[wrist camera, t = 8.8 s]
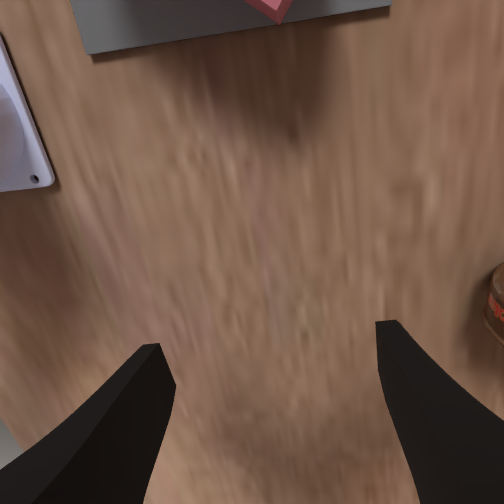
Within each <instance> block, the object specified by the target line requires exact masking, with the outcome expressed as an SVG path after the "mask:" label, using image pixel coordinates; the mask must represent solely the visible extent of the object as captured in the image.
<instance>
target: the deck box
mask: <svg viewBox="0 0 504 504" xmlns="http://www.w3.org/2000/svg"><path fill="white" fill-rule="evenodd" d="M244 1H245V2H247V3H248V4H250V5H251V6H252V7H254V8H255V9H257V10H258V11H260V12H261V13H263V14H264V15H266V16H267V17H269V18H270V19H271V20H273V21H274V22H276V23H277V24H279V25H280V24H281V22H282V20H283V18H284V16H285V15H286V13H287V11H288V9H289V7H290V5H291V3H292V1H293V0H244Z"/></svg>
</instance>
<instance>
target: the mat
mask: <svg viewBox="0 0 504 504" xmlns="http://www.w3.org/2000/svg"><path fill="white" fill-rule="evenodd" d="M70 2H71V5H72V9H73V12H74V15H75V19H76V22H77V25H78V29H79V32H80V35H81V39H82V42H83V45H84V49H85V52H86V55H92V54H98V53H104V52H110V51H116V50H123V49H129V48H135V47H141V46H147V45H153V44H159V43H165V42H171V41H178V40H184V39H190V38H196V37H202V36H208V35H214V34H220V33H227V32H233V31H239V30H245V29H251V28H257V27H263V26H269V25H275V24H277V23H276V22H274V21H273V20H271V19H270V18H269V17H267V16H266V15H264V14H263V13H261V12H260V11H258V10H257V9H255V8H254V7H252V6H251V5H250V4H248V3H247V2H245V1H244V0H70ZM390 5H392V0H293V1H292V3H291V5H290V7H289V9H288V11H287V13H286V15H285V16H284V18H283V20H282V22H281V24H282V23H288V22H294V21H300V20H306V19H312V18H318V17H324V16H331V15H337V14H343V13H349V12H355V11H361V10H367V9H373V8H379V7H386V6H390Z"/></svg>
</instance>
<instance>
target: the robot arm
mask: <svg viewBox="0 0 504 504" xmlns="http://www.w3.org/2000/svg"><path fill="white" fill-rule="evenodd" d="M34 175H36V176H37V177H38V178H39V182H38V181H37V180H36V179H35V178H34ZM54 181H55V176H54V173H53V171H52V168H51V165H50V163H49V160H48V158H47V155H46V152H45V150H44V147H43V145H42V142H41V139H40V137H39V134H38V132H37V129H36V126H35V124H34V121H33V119H32V116H31V113H30V111H29V108H28V106H27V103H26V100H25V98H24V95H23V93H22V90H21V87H20V85H19V82H18V80H17V77H16V74H15V72H14V69H13V67H12V64H11V61H10V59H9V56H8V54H7V51H6V48H5V46H4V43H3V41H2V38H1V35H0V192H5V191H13V190H22V189H31V188H40V187H47V186H50V185H52V184H53V183H54ZM375 324H376V342H377V360H378V372H379V376H380V380H381V385H382V389H383V393H384V397H385V401H386V404H387V407H388V409H389V412H390V415H391V418H392V421H393V423H394V426H395V429H396V432H397V434H398V437H399V440H400V443H401V446H402V448H403V451H404V454H405V457H406V459H407V462H408V465H409V468H410V470H411V473H412V476H413V480H414V483H415V486H416V489H417V493H418V497H419V500H420V504H504V421H503V420H502V419H501V418H499V417H498V416H497V415H495V414H494V413H493V412H492V411H490V410H489V409H488V408H486V407H485V406H484V405H483V404H481V403H480V402H479V401H478V400H476V399H475V398H474V397H473V396H472V395H471V394H469V393H468V392H467V391H466V390H465V389H464V388H462V387H461V386H460V385H459V384H458V383H457V382H456V381H455V380H453V379H452V378H451V377H450V376H449V375H448V374H447V373H446V372H445V371H444V370H443V369H442V368H441V367H440V366H439V365H438V364H437V363H436V362H435V361H434V360H433V359H432V358H431V357H430V356H429V355H428V354H427V353H426V352H425V351H424V350H423V349H422V348H421V347H420V346H419V345H418V344H417V342H416V341H415V340H414V339H413V338H412V337H411V336H410V335H409V333H408V332H407V331H406V330H405V329H404V328H403V326H402V325H401V324H400V323H399V322H398V321H397V320H388V321H378V322H375ZM175 390H176V384H175V381H174V379H173V376H172V374H171V371H170V369H169V366H168V364H167V361H166V359H165V356H164V353H163V351H162V348H161V346H160V343H155V344H145V345H142V346H141V347H140V348H139V349H138V350H137V351H136V352H135V353H134V354H133V355H132V356H131V357H130V358H129V359H128V360H127V361H126V362H125V363H124V364H123V365H122V366H121V367H120V368H119V369H118V370H117V371H116V372H115V373H114V374H113V375H112V376H111V377H110V378H109V379H108V380H107V381H106V382H105V383H104V384H103V385H102V386H101V387H100V388H99V389H98V390H97V391H96V392H95V393H94V394H93V395H92V396H91V397H90V398H89V399H88V400H86V401H85V402H84V403H83V404H82V405H81V406H80V407H79V408H78V409H77V410H76V411H75V412H74V413H73V414H71V415H70V416H69V417H68V418H67V419H66V420H65V421H63V422H62V423H61V424H60V425H59V426H58V427H56V428H55V429H54V430H53V431H51V432H50V433H49V434H48V435H47V436H45V437H44V438H43V439H42V440H40V441H39V442H38V443H36V444H35V445H34V446H32V447H31V448H30V449H28V450H27V451H26V452H24V453H23V454H21V455H20V456H19V457H17V458H16V459H15V460H13V461H12V462H11V463H9V464H8V465H6V466H5V467H3V468H2V469H1V470H0V504H143V501H144V497H145V493H146V490H147V486H148V483H149V480H150V477H151V474H152V471H153V468H154V465H155V462H156V459H157V456H158V453H159V450H160V447H161V444H162V441H163V438H164V435H165V431H166V428H167V425H168V422H169V419H170V416H171V411H172V407H173V402H174V396H175Z"/></svg>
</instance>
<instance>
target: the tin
mask: <svg viewBox="0 0 504 504" xmlns="http://www.w3.org/2000/svg"><path fill="white" fill-rule="evenodd" d="M482 316H483V321H484V323H485V326H486V327H487V329H488V331H489V332H490V333H491V334H492V336H493V337H494V338H495V339H496V340H497V341H498V342H499V343H500V344H502V345H503V346H504V262H503V263H502V264H500V265H499V266H498V267H497V268H496V269H495V271H494V272H493V275H492V278H491V281H490V285H489V290H488V295H487V302H486V303H485V305H484V307H483V311H482Z"/></svg>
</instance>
